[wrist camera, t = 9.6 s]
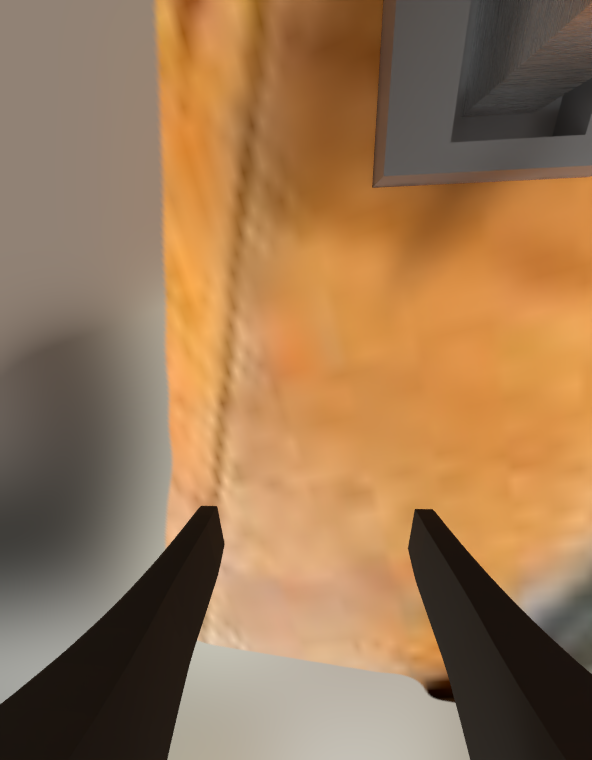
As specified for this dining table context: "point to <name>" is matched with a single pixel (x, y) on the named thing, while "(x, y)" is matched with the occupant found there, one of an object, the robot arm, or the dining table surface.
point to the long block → (527, 55)
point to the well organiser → (444, 109)
